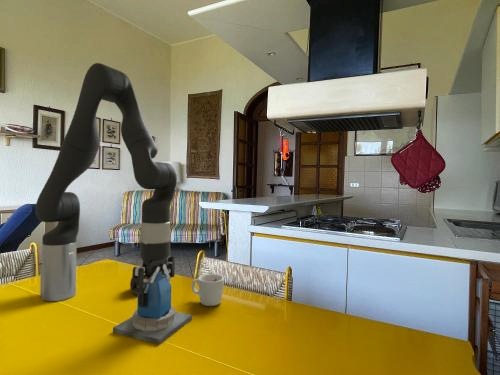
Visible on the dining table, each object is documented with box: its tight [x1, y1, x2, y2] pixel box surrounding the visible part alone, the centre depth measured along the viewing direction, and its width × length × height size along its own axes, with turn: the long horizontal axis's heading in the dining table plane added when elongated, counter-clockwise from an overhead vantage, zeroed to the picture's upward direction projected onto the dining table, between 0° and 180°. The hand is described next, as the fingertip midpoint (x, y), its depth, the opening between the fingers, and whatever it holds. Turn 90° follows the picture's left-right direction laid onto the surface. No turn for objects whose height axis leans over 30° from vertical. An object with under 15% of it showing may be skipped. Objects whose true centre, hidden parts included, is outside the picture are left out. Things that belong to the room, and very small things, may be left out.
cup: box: [191, 273, 225, 307], centre depth 97 cm, size 11×8×8 cm
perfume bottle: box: [136, 266, 172, 318], centre depth 81 cm, size 6×6×12 cm
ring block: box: [112, 305, 193, 345], centre depth 81 cm, size 14×14×4 cm
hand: (154, 300), depth 81 cm, fingers open, 8 cm apart
